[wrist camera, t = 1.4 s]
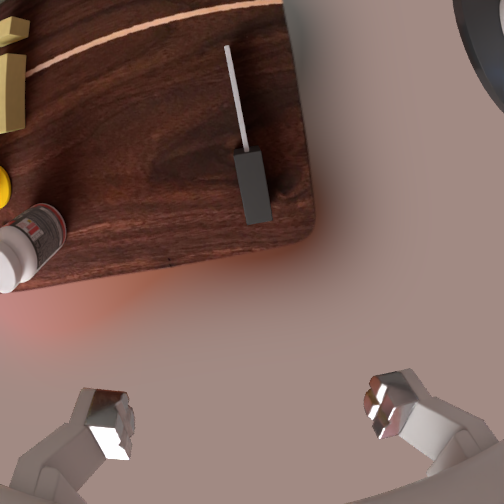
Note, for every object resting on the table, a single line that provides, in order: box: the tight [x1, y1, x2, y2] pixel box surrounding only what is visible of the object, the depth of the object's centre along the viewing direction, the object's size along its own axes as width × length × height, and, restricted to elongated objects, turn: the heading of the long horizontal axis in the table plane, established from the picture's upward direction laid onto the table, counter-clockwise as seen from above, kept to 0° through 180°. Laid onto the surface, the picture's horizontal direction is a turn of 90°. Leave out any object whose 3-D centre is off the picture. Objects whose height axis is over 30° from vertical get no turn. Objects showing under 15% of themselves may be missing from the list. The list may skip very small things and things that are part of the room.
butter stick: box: [0, 53, 26, 134], centre depth 22 cm, size 4×8×4 cm, turn 177°
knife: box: [224, 45, 273, 225], centre depth 26 cm, size 2×15×4 cm, turn 10°
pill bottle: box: [0, 203, 66, 293], centre depth 26 cm, size 6×6×10 cm
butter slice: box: [0, 16, 30, 47], centre depth 19 cm, size 4×2×4 cm, turn 87°
